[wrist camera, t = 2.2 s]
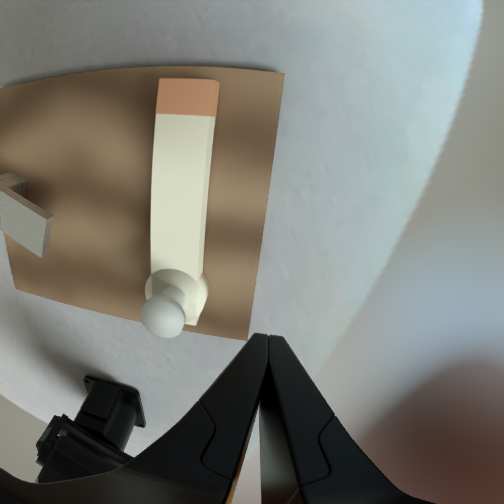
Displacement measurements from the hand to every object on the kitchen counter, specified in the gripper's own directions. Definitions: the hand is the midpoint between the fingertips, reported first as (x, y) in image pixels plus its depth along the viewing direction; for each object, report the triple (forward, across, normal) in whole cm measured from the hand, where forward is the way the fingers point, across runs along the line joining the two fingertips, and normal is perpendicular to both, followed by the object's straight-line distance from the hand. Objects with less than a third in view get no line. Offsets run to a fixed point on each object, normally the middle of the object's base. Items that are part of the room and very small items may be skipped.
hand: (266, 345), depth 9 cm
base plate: (+12, +12, 0) cm, 17 cm away
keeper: (+11, +18, +1) cm, 21 cm away
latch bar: (+11, +6, 0) cm, 12 cm away
